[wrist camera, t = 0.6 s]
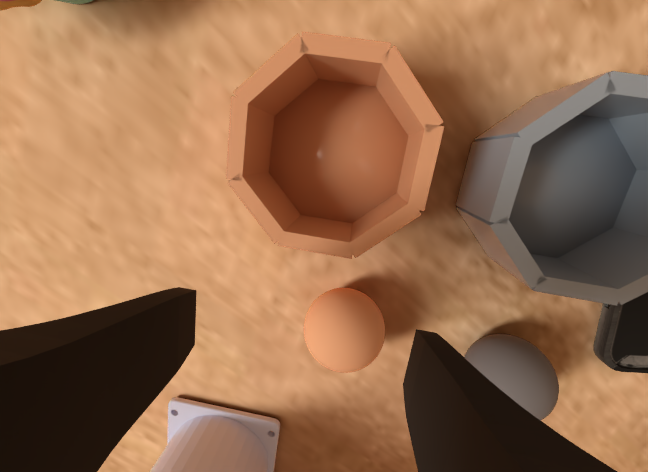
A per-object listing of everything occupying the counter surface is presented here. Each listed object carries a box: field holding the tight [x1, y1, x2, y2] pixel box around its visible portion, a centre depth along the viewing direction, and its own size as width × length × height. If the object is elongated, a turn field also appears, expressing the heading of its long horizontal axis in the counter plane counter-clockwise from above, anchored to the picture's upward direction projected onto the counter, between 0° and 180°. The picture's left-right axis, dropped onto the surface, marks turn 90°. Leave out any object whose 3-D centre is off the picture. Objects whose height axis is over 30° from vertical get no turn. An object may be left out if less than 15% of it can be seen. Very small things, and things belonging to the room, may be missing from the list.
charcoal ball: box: [464, 334, 559, 420], centre depth 17 cm, size 4×4×4 cm
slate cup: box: [456, 71, 648, 306], centre depth 14 cm, size 8×8×4 cm
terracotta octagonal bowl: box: [226, 32, 444, 259], centre depth 15 cm, size 8×8×4 cm
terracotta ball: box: [304, 288, 385, 373], centre depth 17 cm, size 4×4×4 cm
